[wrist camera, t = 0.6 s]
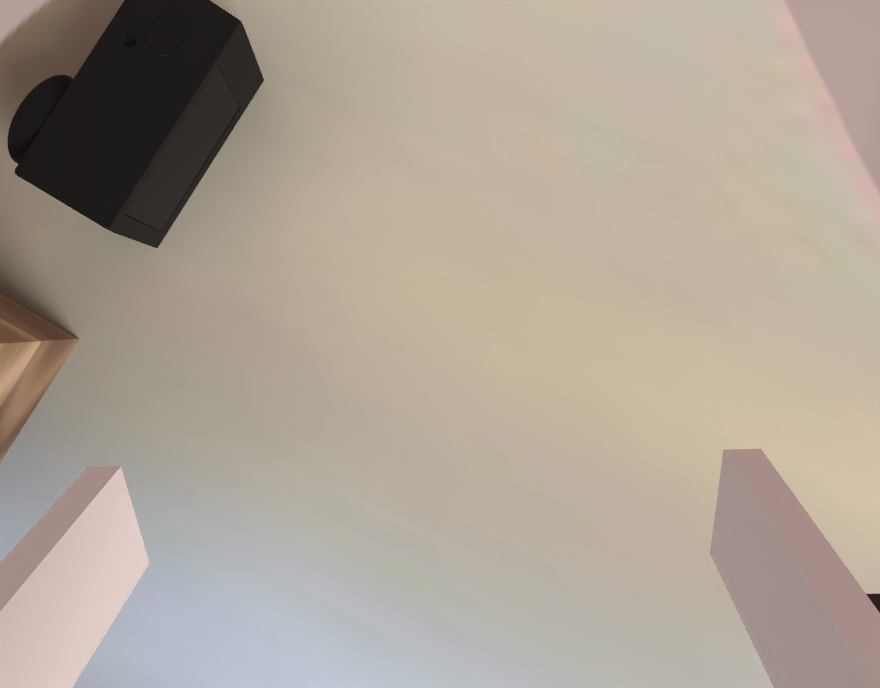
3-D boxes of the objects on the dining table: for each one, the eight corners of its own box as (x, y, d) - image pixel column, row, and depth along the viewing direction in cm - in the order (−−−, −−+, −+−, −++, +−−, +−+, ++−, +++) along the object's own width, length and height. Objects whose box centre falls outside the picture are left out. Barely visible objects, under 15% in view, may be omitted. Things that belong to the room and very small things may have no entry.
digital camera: (171, 17, 34) (123, -61, 27) (265, 78, 35) (241, 17, 28) (60, 190, 34) (-18, 155, 27) (157, 248, 34) (106, 229, 27)
